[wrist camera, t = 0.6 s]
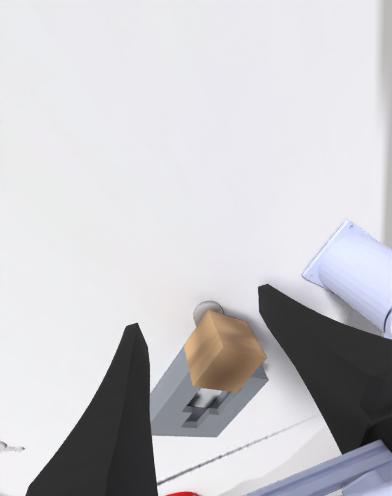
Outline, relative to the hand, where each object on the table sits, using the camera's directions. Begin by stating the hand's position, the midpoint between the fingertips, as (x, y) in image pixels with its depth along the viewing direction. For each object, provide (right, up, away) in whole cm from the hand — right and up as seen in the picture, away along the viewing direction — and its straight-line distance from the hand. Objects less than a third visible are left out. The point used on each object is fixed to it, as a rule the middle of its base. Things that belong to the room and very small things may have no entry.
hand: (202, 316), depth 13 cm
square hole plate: (0, -15, +19) cm, 25 cm away
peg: (+1, -4, +14) cm, 14 cm away
